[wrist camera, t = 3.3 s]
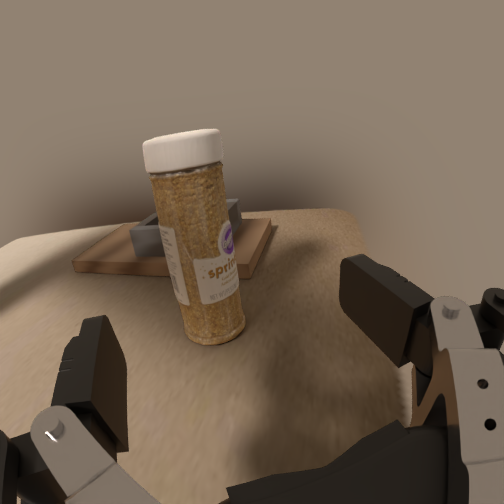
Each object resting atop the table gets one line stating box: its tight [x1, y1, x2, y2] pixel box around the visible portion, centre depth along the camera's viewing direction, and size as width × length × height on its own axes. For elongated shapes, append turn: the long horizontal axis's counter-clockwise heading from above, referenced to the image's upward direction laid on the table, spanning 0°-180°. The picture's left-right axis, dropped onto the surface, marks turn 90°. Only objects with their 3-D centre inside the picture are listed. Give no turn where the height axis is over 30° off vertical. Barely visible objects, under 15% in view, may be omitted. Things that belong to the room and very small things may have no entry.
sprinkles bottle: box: [143, 129, 245, 345], centre depth 19 cm, size 5×5×14 cm
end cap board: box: [72, 199, 272, 279], centre depth 35 cm, size 22×12×4 cm, turn 77°
